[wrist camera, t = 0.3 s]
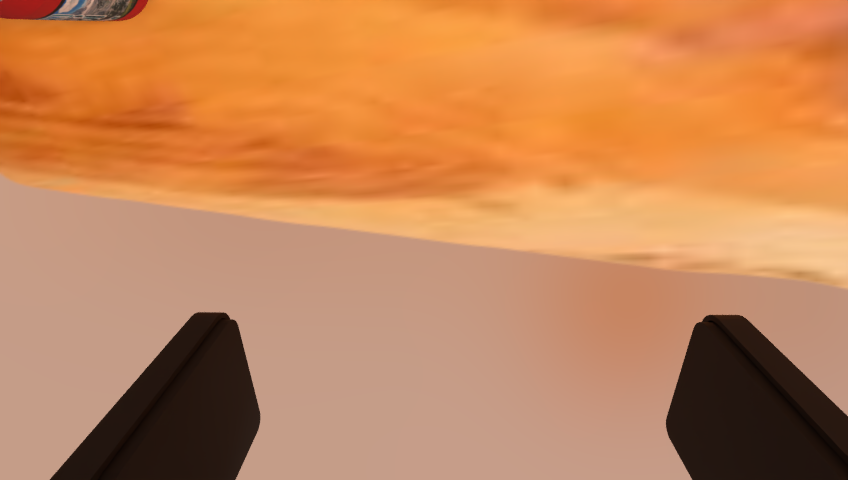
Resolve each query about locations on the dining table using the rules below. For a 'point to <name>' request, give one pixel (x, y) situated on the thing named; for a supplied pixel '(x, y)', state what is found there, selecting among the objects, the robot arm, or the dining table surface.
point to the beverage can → (71, 9)
